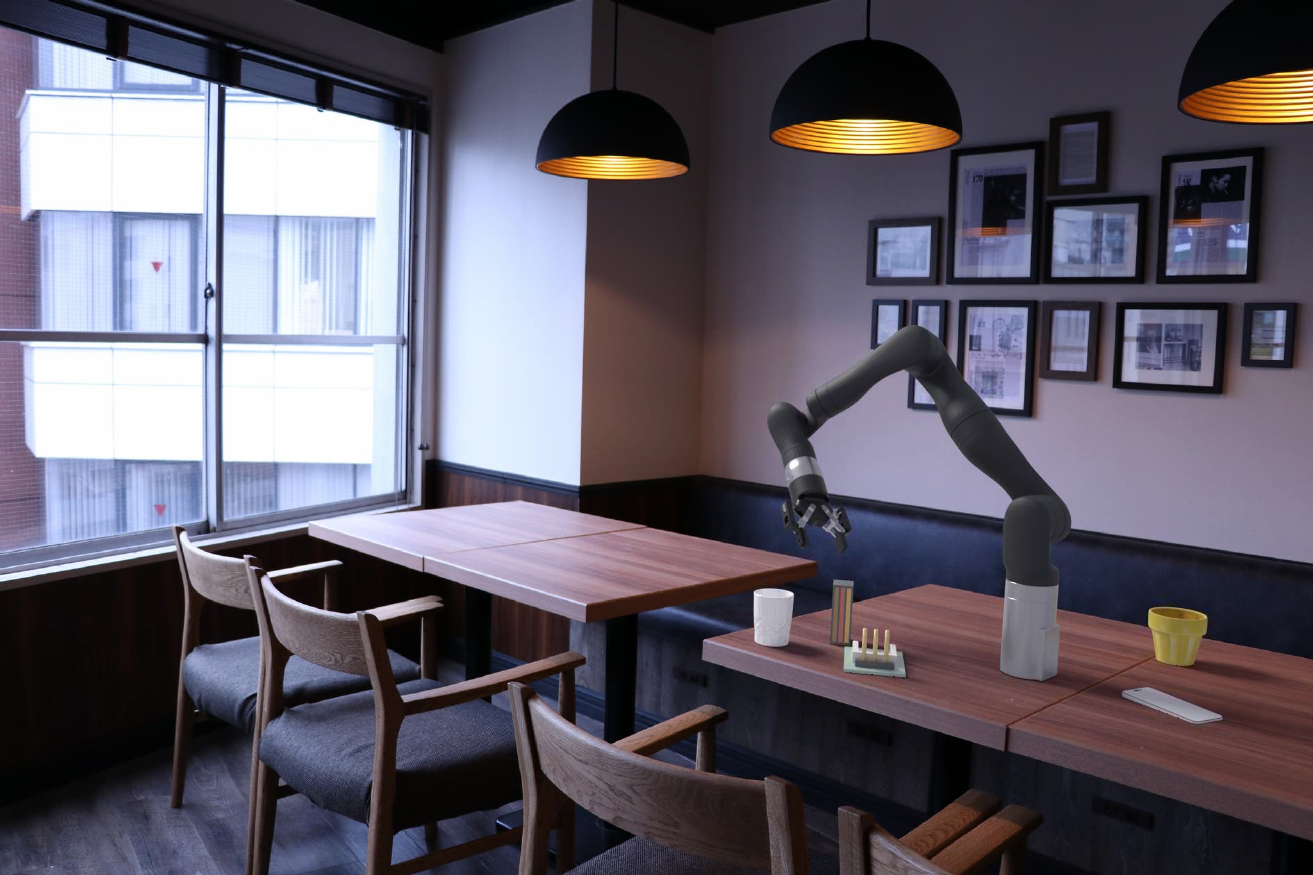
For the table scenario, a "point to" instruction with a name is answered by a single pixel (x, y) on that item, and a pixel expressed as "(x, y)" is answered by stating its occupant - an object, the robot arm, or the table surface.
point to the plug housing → (841, 612)
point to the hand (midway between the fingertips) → (824, 549)
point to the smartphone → (1171, 705)
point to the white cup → (772, 616)
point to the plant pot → (1176, 634)
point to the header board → (874, 658)
